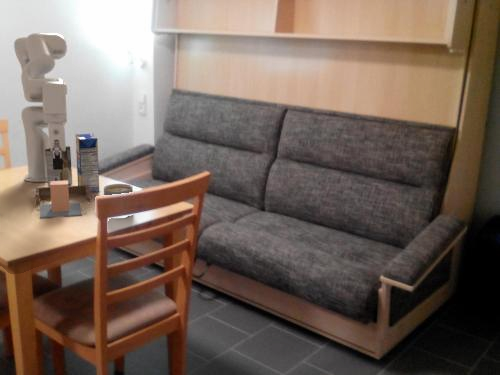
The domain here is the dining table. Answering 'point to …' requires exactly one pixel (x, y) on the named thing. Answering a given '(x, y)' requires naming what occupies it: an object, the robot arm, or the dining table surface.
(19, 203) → the dining table surface
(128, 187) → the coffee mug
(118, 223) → the dining table surface
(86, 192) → the frame
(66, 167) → the coffee box
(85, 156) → the beverage box
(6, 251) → the dining table surface
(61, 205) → the block
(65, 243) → the dining table surface
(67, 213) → the mat
